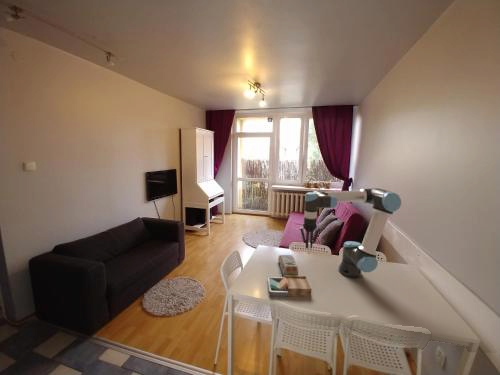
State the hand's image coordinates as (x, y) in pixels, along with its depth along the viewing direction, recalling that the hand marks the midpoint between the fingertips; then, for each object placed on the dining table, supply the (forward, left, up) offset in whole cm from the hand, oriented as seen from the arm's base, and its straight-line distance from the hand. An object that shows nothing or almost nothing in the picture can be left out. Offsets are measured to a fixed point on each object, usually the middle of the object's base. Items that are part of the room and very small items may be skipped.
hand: (308, 252), depth 143 cm
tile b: (+21, +5, -19) cm, 29 cm away
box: (+19, +5, -23) cm, 30 cm away
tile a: (+15, +5, -20) cm, 25 cm away
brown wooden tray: (+7, +5, -23) cm, 24 cm away
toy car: (+9, -18, -23) cm, 31 cm away
